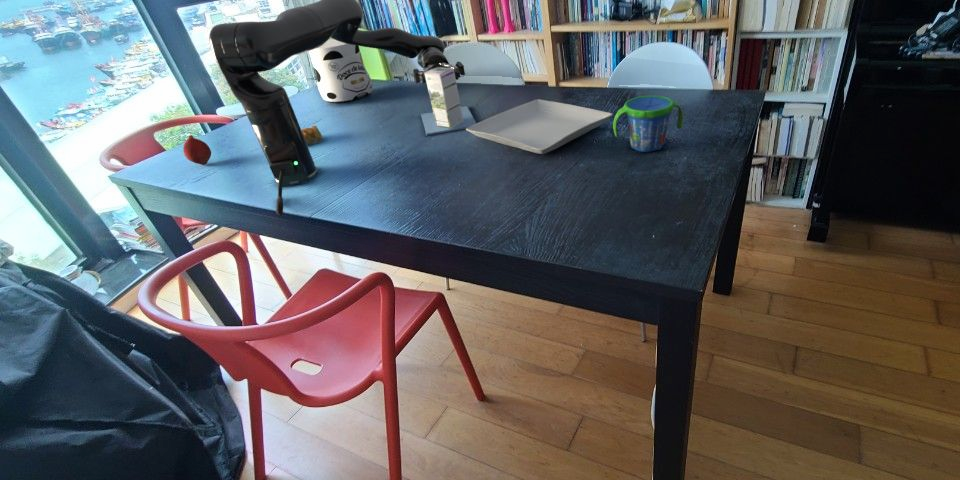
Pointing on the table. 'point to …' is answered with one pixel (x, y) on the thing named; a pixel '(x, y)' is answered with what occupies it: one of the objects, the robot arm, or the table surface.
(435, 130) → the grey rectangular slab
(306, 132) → the pastry
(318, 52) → the doce de leite tin
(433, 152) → the table surface
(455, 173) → the table surface
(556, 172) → the table surface
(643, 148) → the snack cup
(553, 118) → the square plate
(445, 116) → the syrup box
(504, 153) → the table surface
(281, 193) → the robot arm
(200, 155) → the onion
